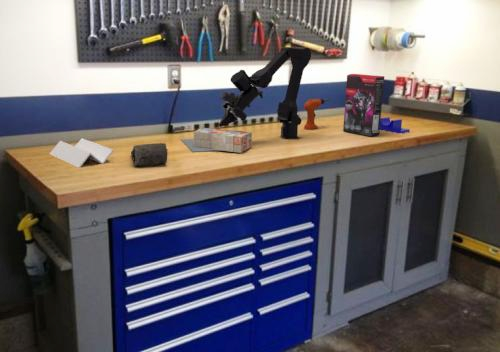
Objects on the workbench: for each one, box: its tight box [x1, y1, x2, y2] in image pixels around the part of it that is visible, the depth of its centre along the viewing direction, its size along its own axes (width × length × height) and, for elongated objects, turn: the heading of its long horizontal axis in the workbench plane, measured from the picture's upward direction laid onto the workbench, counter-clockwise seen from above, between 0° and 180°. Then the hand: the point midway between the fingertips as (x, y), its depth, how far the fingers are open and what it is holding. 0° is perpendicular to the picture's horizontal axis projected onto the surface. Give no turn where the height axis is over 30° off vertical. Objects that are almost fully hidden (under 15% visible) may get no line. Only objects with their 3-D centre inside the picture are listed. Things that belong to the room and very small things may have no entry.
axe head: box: [130, 142, 169, 167], centre depth 185 cm, size 26×8×15 cm
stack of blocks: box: [193, 127, 253, 154], centre depth 204 cm, size 21×6×12 cm
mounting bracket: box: [380, 116, 411, 134], centre depth 253 cm, size 18×7×6 cm, turn 40°
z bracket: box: [49, 137, 115, 168], centre depth 184 cm, size 12×25×6 cm
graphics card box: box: [342, 73, 385, 137], centre depth 239 cm, size 17×7×27 cm, turn 41°
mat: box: [180, 138, 222, 153], centre depth 210 cm, size 14×24×1 cm, turn 18°
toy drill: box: [303, 98, 330, 131], centre depth 254 cm, size 5×19×15 cm, turn 135°
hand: (219, 126), depth 210 cm, fingers closed
